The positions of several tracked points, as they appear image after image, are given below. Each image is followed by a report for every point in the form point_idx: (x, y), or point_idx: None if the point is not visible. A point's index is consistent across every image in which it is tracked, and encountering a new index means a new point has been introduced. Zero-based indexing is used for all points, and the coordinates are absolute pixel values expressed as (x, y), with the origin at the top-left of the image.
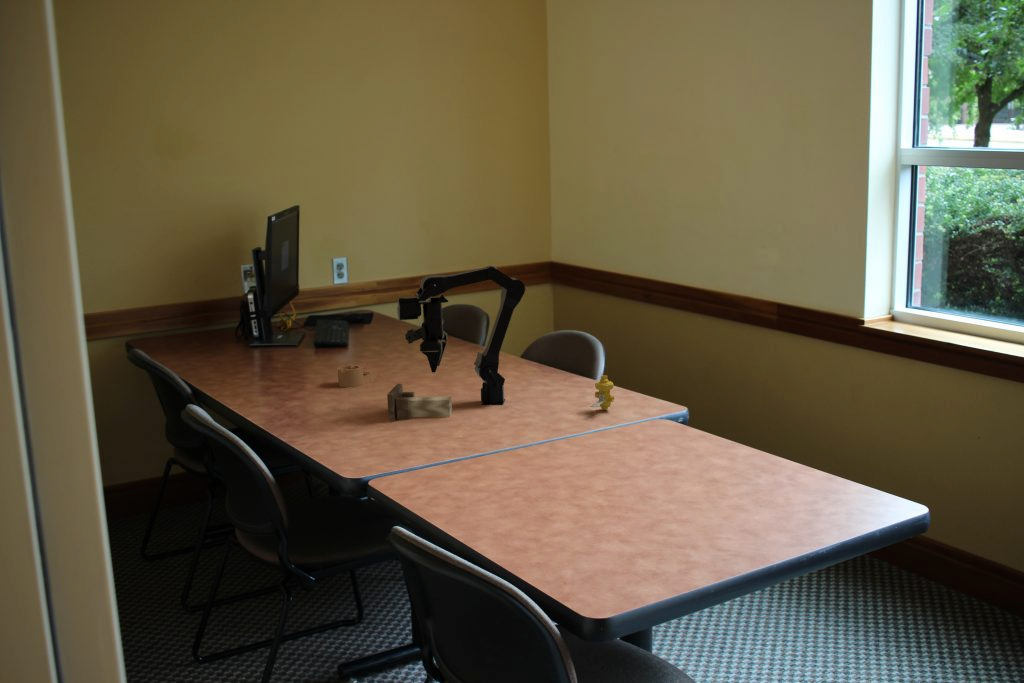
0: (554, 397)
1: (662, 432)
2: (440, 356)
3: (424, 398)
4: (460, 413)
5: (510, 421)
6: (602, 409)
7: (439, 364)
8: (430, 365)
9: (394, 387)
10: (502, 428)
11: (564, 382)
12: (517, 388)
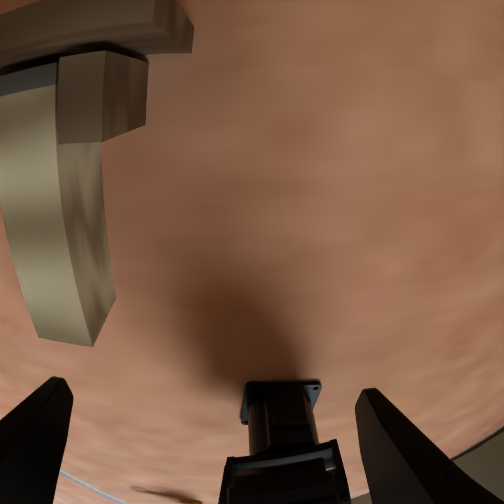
0: None
1: (86, 501)
2: (375, 492)
3: (37, 222)
4: (119, 325)
5: (70, 417)
6: (191, 502)
7: (356, 421)
8: (5, 421)
9: (19, 13)
10: (16, 395)
11: None
12: (422, 416)
